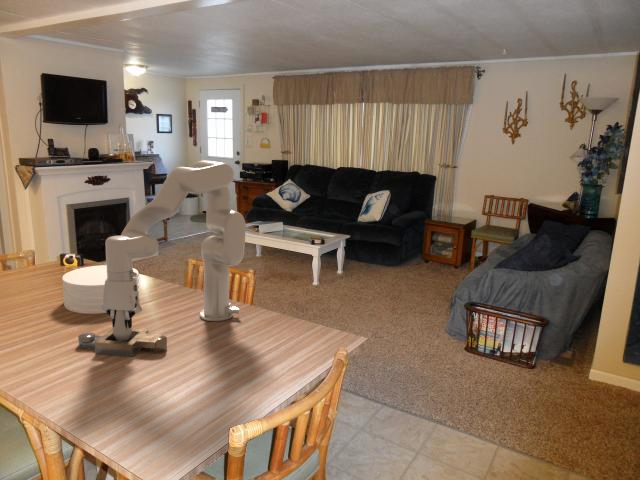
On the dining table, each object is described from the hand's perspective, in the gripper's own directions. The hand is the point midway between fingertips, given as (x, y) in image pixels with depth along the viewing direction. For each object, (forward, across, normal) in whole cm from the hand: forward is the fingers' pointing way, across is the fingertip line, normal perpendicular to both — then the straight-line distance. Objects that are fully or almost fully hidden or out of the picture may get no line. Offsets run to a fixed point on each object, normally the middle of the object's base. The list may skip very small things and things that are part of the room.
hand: (122, 328), depth 153 cm
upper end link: (+6, -4, 0) cm, 8 cm away
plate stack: (+7, +27, -39) cm, 48 cm away
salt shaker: (+3, 0, 0) cm, 3 cm away
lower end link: (+6, +4, 0) cm, 8 cm away
